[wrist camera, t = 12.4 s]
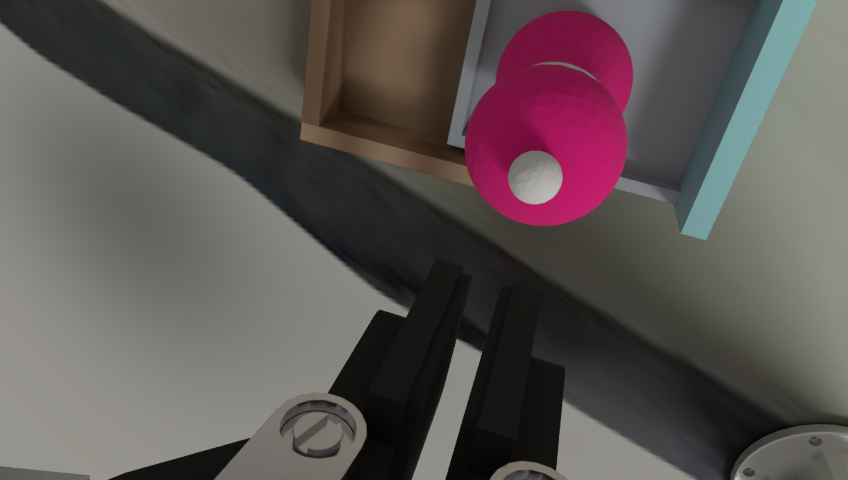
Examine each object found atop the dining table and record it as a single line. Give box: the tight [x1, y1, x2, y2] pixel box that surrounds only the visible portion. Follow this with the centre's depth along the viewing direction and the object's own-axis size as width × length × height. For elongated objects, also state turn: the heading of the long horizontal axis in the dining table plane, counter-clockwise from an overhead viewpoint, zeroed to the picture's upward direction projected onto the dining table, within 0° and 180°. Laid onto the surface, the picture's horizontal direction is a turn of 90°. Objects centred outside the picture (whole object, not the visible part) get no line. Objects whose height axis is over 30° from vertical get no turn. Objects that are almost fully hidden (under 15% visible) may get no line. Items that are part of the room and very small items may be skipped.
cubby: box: [300, 0, 477, 187], centre depth 37 cm, size 18×16×5 cm
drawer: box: [447, 0, 818, 240], centre depth 35 cm, size 16×13×6 cm
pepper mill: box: [465, 10, 633, 226], centre depth 28 cm, size 7×7×20 cm
